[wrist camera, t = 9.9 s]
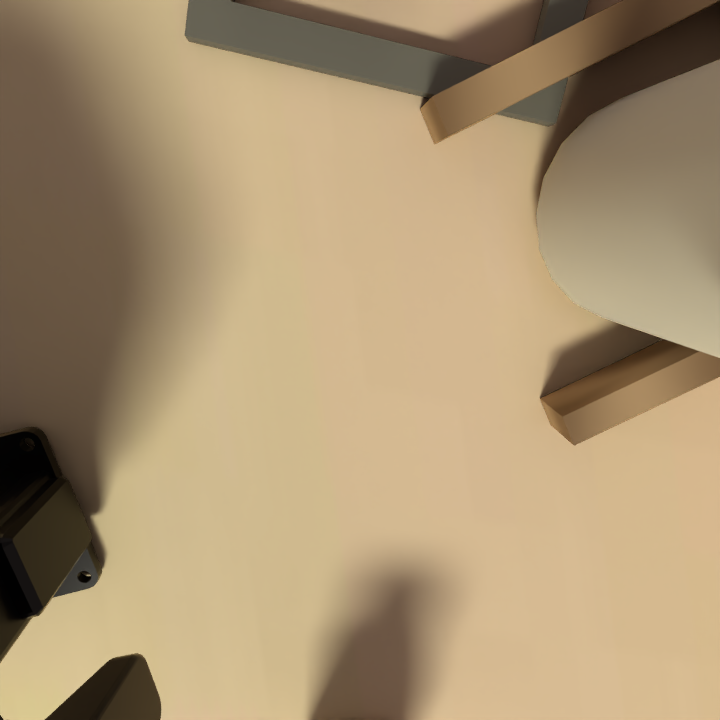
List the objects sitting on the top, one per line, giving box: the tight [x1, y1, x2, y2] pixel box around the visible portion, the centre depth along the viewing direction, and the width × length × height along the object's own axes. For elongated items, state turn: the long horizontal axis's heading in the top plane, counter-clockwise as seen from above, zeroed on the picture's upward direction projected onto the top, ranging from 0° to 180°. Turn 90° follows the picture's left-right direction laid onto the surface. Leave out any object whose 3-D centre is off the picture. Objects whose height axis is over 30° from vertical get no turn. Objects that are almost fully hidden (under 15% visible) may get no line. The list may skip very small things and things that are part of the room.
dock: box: [420, 0, 720, 445], centre depth 17 cm, size 12×12×5 cm
